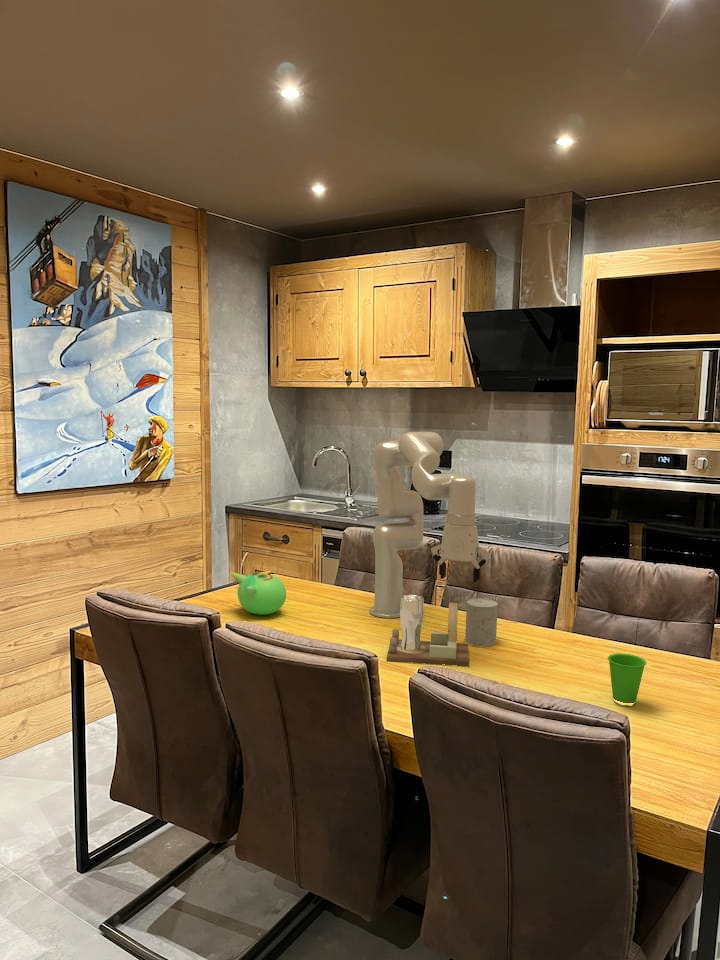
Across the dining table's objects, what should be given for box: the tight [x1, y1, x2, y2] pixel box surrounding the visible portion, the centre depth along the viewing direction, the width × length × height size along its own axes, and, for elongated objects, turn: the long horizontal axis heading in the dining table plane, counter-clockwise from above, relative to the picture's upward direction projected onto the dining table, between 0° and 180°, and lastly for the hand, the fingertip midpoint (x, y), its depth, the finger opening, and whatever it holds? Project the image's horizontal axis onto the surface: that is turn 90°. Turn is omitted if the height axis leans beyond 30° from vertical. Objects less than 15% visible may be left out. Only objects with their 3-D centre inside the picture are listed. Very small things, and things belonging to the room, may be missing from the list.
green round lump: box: [229, 570, 287, 616], centre depth 248 cm, size 18×17×15 cm
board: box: [386, 628, 470, 667], centre depth 212 cm, size 15×23×6 cm, turn 82°
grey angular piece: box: [429, 602, 459, 659], centre depth 211 cm, size 13×8×14 cm, turn 172°
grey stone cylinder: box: [464, 597, 499, 648], centre depth 224 cm, size 10×10×12 cm
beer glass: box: [399, 594, 425, 651], centre depth 212 cm, size 7×7×15 cm
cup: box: [607, 652, 647, 703], centre depth 180 cm, size 9×9×11 cm
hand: (459, 579), depth 208 cm, fingers open, 9 cm apart
